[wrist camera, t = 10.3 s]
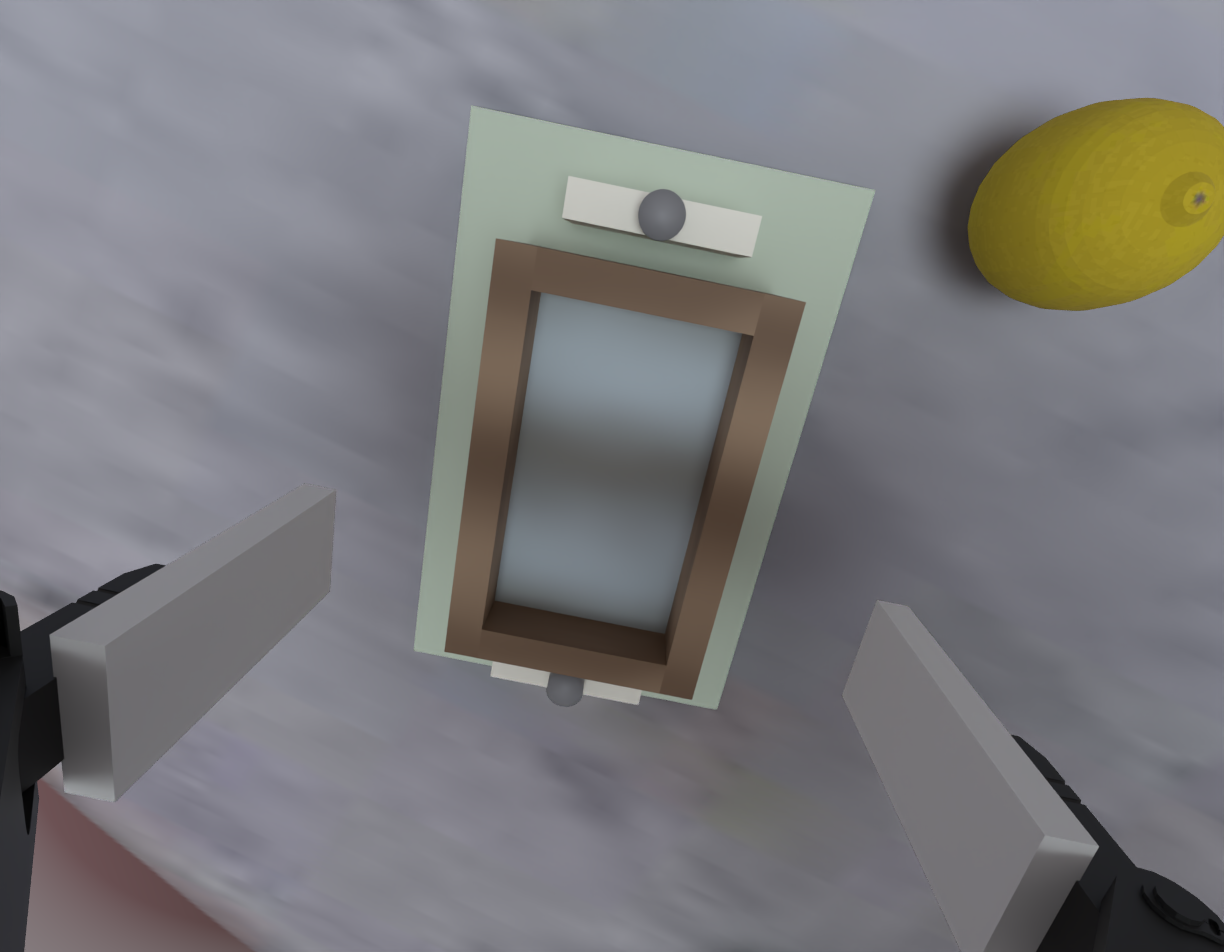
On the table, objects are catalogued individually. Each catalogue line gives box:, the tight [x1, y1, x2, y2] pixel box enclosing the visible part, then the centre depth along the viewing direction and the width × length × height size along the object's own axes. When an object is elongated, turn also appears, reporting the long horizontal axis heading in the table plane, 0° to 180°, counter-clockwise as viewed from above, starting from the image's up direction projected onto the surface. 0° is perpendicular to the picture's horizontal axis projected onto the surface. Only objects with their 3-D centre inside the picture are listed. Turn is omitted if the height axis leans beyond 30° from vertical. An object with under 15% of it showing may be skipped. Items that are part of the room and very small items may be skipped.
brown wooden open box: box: [444, 238, 806, 700], centre depth 22 cm, size 14×9×5 cm, turn 169°
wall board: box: [414, 106, 875, 710], centre depth 23 cm, size 22×14×4 cm, turn 169°
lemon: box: [968, 98, 1224, 311], centre depth 18 cm, size 6×6×8 cm
